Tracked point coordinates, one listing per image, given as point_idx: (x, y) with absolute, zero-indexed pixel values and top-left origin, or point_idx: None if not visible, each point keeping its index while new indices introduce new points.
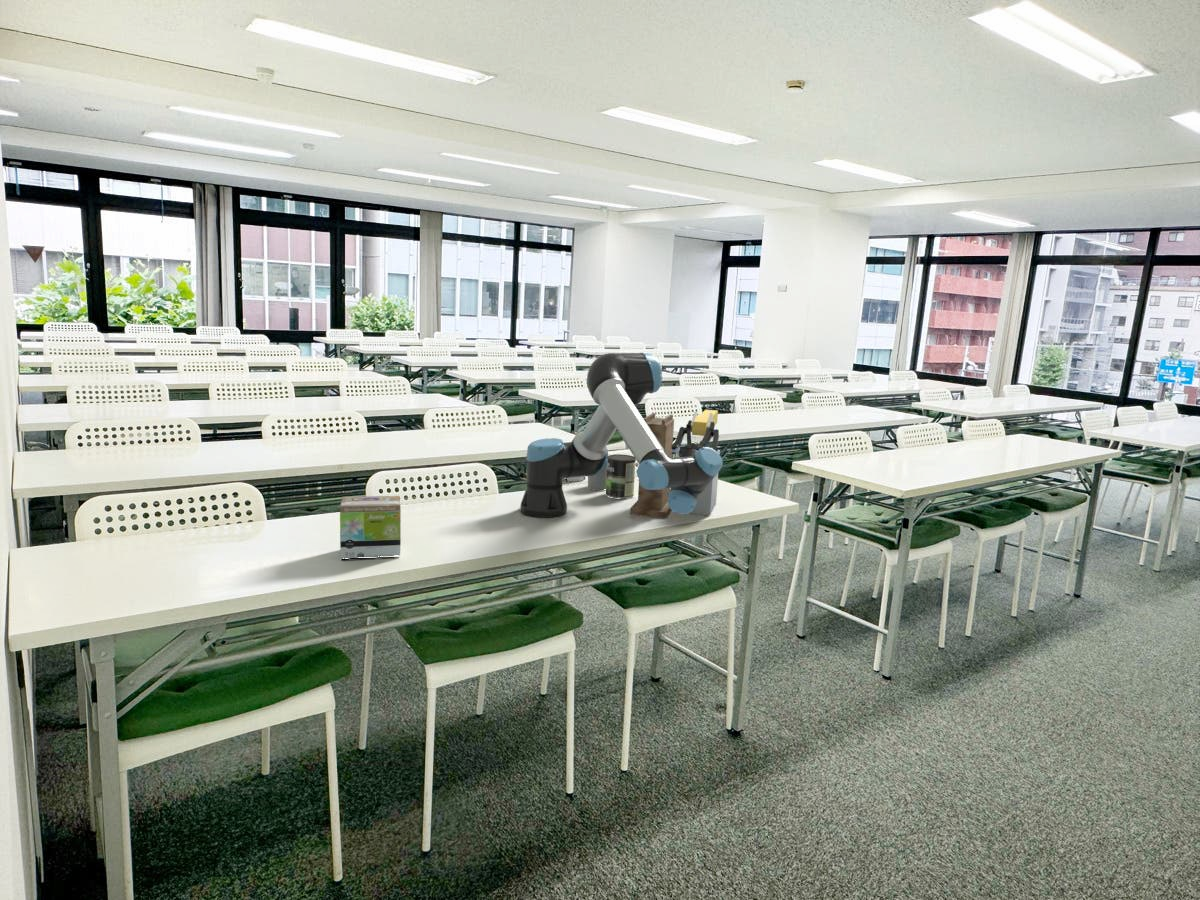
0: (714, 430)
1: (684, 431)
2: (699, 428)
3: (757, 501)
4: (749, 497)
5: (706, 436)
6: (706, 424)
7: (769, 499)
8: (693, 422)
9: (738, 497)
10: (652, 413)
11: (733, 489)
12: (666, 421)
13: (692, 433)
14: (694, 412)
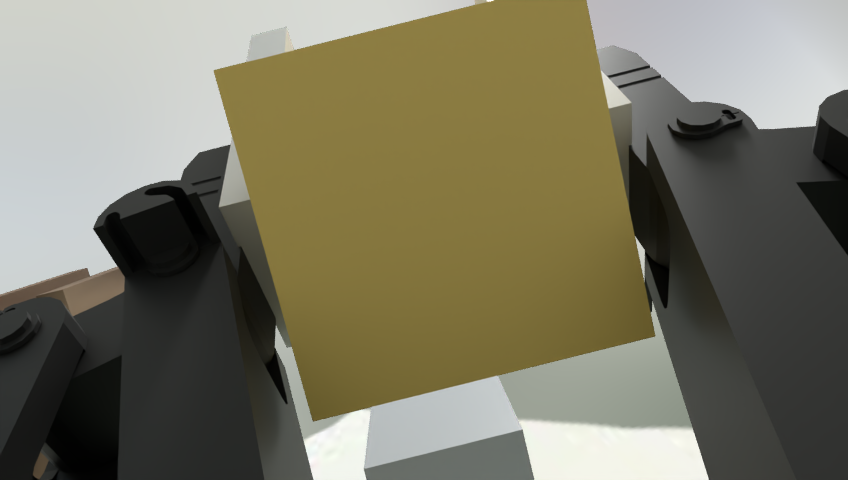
0: (782, 141)
1: (111, 393)
2: (449, 197)
3: (659, 473)
4: (610, 459)
5: (839, 361)
6: (582, 46)
7: (679, 441)
8: (242, 91)
9: (577, 476)
10: (64, 274)
11: (524, 434)
12: (101, 293)
13: (314, 381)
14: (254, 38)
